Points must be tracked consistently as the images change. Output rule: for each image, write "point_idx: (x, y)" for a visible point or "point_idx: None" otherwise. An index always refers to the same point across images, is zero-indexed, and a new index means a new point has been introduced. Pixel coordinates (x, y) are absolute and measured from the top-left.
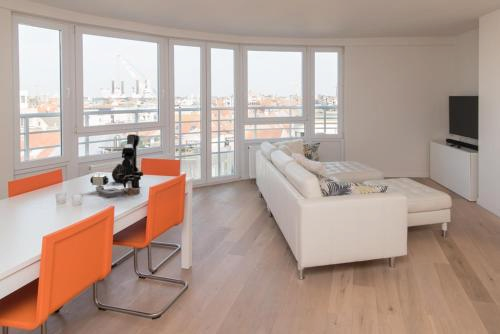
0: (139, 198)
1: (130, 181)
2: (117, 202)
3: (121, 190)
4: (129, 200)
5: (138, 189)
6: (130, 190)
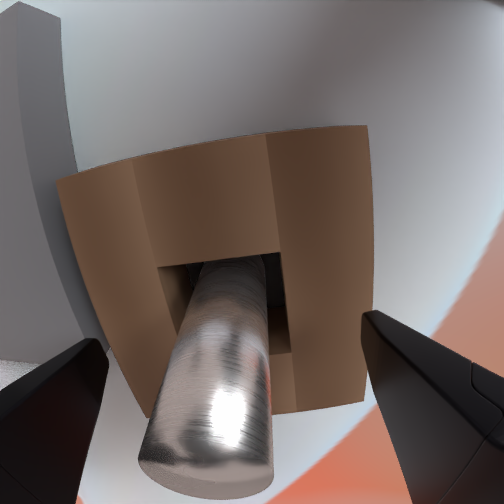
0: None
1: (239, 473)
2: None
3: (57, 312)
4: (143, 483)
5: (349, 399)
6: None
